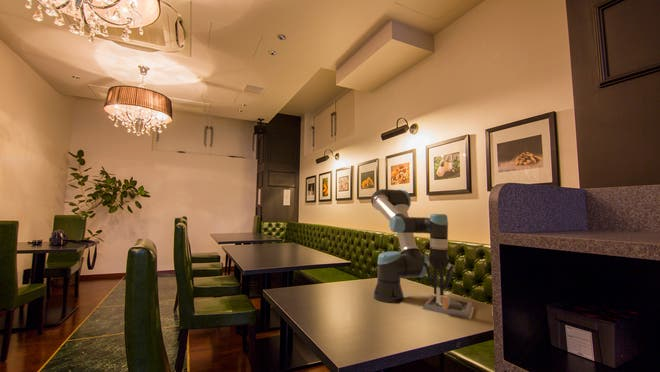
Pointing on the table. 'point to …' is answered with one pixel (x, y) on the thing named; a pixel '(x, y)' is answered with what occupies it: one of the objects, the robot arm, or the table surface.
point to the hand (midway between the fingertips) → (438, 302)
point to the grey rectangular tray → (466, 309)
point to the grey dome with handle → (449, 303)
